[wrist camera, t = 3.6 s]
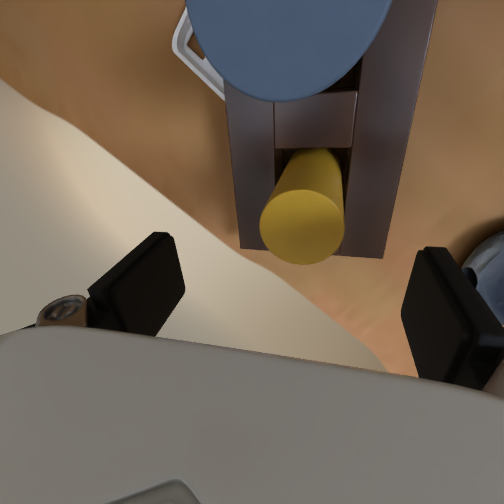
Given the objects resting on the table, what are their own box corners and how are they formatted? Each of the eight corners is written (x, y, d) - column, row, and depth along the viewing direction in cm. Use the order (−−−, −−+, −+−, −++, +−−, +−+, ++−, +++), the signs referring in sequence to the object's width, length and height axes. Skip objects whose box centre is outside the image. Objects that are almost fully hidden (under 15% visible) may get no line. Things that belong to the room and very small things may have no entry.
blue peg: (357, -1, 16) (438, -265, 4) (349, 81, 18) (382, 96, 6) (287, 9, 17) (157, -171, 4) (287, 86, 19) (199, 107, 7)
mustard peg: (343, 142, 20) (349, 190, 12) (338, 196, 22) (340, 268, 14) (287, 143, 21) (256, 188, 13) (287, 194, 23) (261, 261, 15)
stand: (441, -105, 13) (471, -155, 10) (376, 236, 23) (382, 259, 20) (228, -61, 16) (205, -90, 13) (250, 229, 25) (240, 248, 23)
